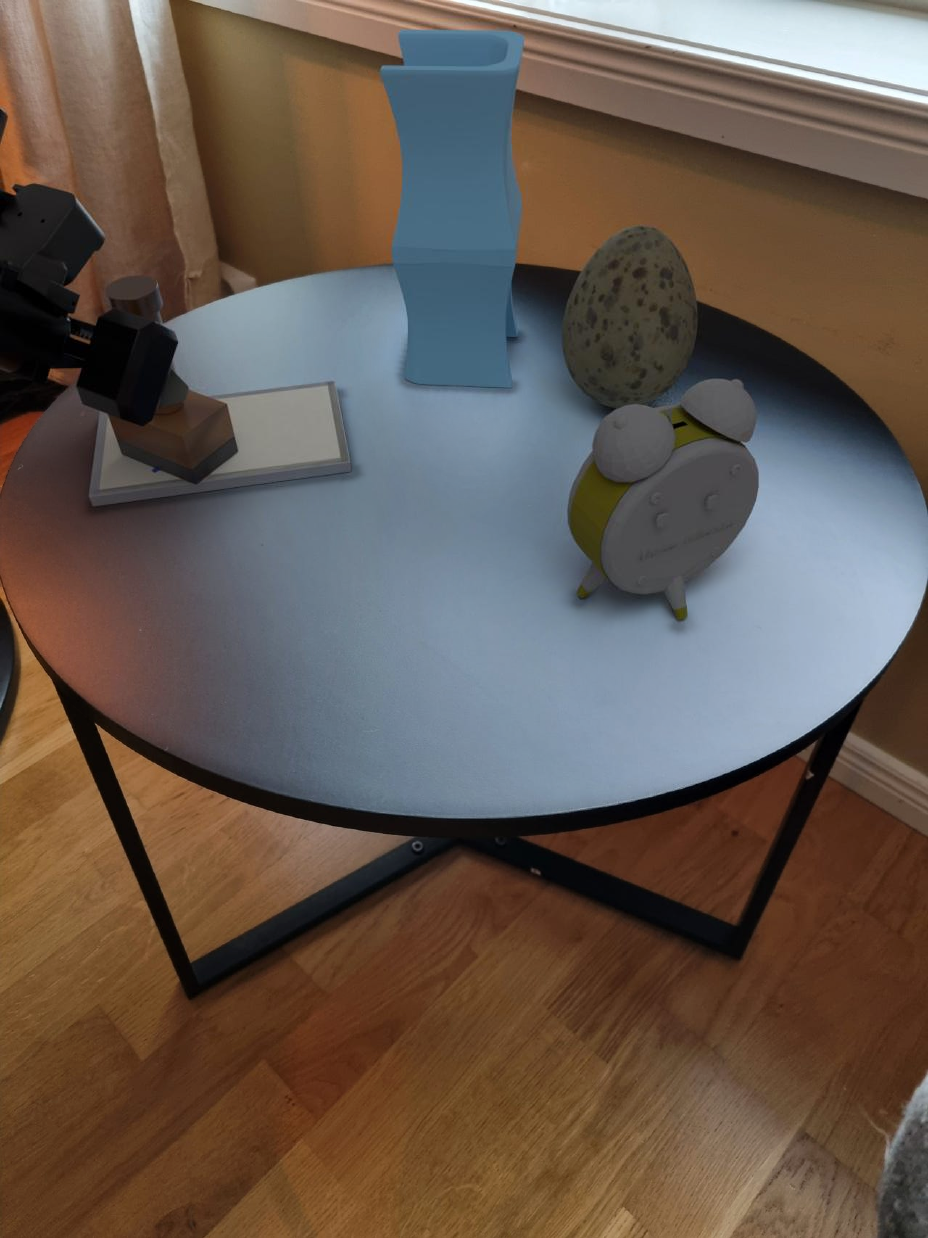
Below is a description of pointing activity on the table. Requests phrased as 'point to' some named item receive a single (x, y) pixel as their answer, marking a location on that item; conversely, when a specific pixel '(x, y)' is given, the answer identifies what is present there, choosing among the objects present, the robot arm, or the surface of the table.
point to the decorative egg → (630, 319)
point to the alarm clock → (665, 490)
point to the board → (239, 447)
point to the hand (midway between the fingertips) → (138, 376)
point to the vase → (457, 202)
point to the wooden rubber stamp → (171, 407)
